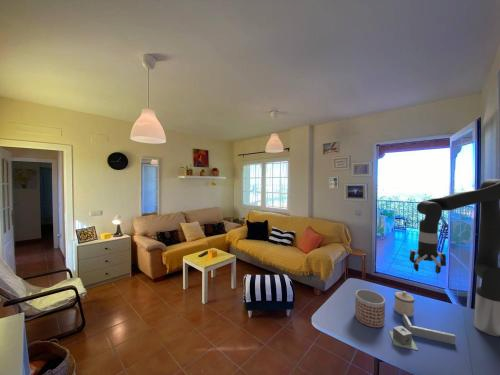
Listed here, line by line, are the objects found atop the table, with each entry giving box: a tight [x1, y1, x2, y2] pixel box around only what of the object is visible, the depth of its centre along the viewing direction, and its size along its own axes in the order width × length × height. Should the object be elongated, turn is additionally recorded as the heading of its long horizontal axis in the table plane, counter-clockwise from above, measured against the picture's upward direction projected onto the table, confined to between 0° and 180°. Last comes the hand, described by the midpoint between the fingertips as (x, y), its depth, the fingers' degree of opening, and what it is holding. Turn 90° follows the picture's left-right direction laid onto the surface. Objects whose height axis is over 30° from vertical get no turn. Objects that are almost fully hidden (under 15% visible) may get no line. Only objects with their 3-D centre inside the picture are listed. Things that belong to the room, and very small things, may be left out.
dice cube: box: [392, 325, 413, 346], centre depth 97 cm, size 5×5×5 cm
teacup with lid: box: [394, 290, 416, 318], centre depth 119 cm, size 12×9×12 cm
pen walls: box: [402, 313, 457, 345], centre depth 103 cm, size 17×11×4 cm, turn 69°
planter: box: [354, 288, 386, 329], centre depth 112 cm, size 14×14×13 cm
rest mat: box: [388, 330, 419, 351], centre depth 97 cm, size 9×9×1 cm
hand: (426, 271), depth 107 cm, fingers open, 8 cm apart
